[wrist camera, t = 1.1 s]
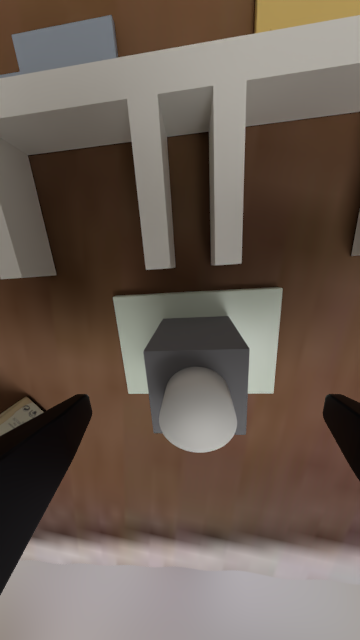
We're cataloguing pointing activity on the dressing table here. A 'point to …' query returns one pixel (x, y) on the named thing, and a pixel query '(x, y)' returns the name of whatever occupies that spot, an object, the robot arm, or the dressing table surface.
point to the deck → (239, 304)
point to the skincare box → (18, 415)
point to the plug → (198, 381)
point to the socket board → (167, 114)
